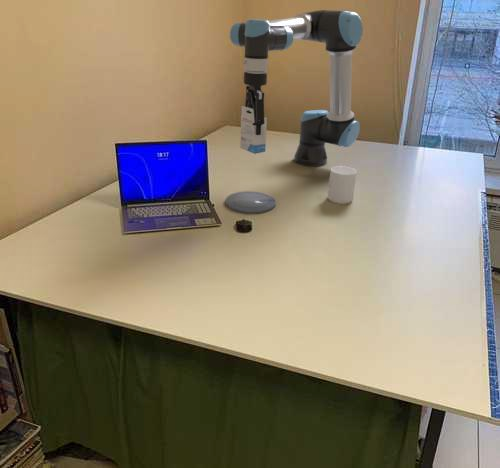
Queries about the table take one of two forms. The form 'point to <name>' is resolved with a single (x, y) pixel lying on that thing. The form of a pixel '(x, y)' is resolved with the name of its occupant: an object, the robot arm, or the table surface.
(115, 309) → the table surface
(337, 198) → the mug
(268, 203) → the dish
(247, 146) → the ink box
